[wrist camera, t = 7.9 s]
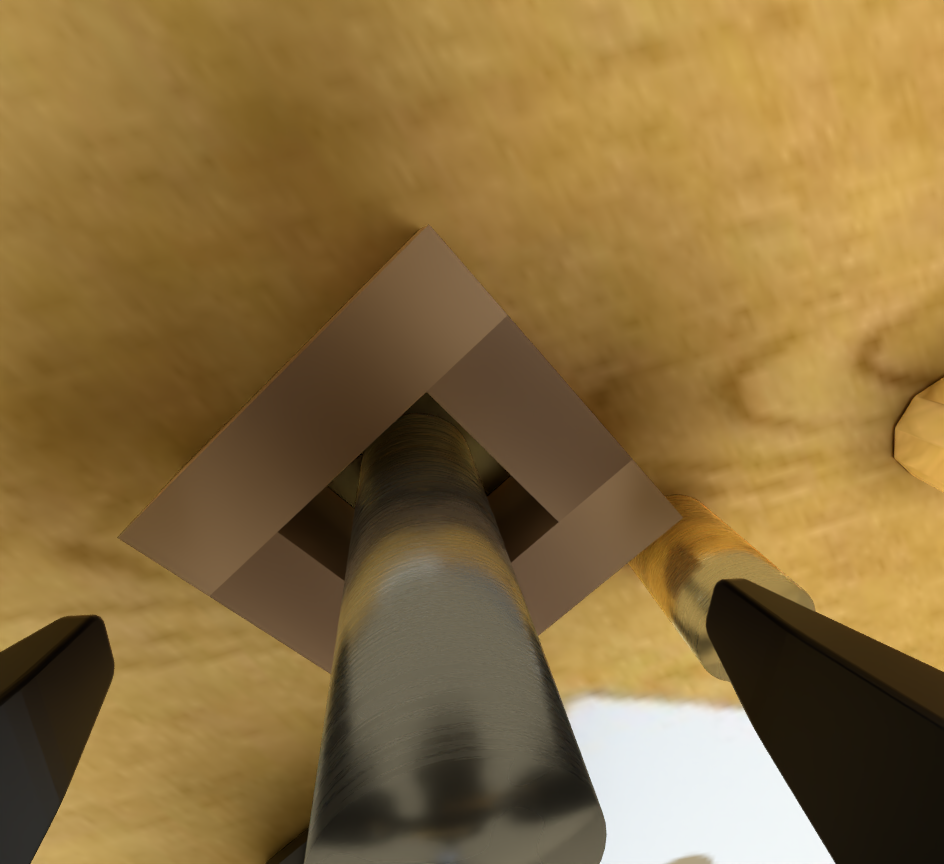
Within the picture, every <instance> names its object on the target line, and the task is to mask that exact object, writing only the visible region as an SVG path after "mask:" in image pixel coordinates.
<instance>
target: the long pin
mask: <svg viewBox="0 0 944 864" xmlns="http://www.w3.org/2000/svg"><path fill="white" fill-rule="evenodd" d="M605 843H606V823H605V819H604V816H603V813H602V810H601V807H600V804H599V801H598V799H597V796H596V793H595V790H594V788H593V785H592V782H591V780H590V777H589V774H588V771H587V769H586V766H585V763H584V760H583V758H582V755H581V752H580V750H579V747H578V744H577V741H576V739H575V736H574V733H573V731H572V728H571V725H570V722H569V720H568V717H567V714H566V711H565V709H564V706H563V703H562V701H561V698H560V695H559V692H558V690H557V687H556V684H555V681H554V679H553V676H552V673H551V671H550V668H549V665H548V662H547V660H546V657H545V654H544V651H543V649H542V646H541V643H540V641H539V638H538V635H537V632H536V630H535V627H534V624H533V621H532V619H531V616H530V613H529V611H528V608H527V605H526V602H525V600H524V597H523V594H522V591H521V589H520V586H519V583H518V581H517V578H516V575H515V572H514V570H513V567H512V564H511V561H510V559H509V556H508V553H507V551H506V548H505V545H504V542H503V540H502V537H501V534H500V531H499V529H498V526H497V523H496V521H495V518H494V515H493V512H492V510H491V507H490V504H489V501H488V499H487V496H486V493H485V491H484V488H483V485H482V482H481V480H480V477H479V474H478V472H477V469H476V466H475V463H474V461H473V458H472V455H471V452H470V450H469V447H468V444H467V442H466V440H465V439H464V437H463V436H462V434H461V433H460V432H459V431H458V430H457V428H455V427H454V426H453V425H452V424H450V423H449V422H447V421H446V420H444V419H441V418H439V417H436V416H433V415H428V414H419V413H417V414H407V415H402V416H400V417H399V418H398V419H397V420H396V421H395V422H394V423H393V424H392V425H391V426H389V427H388V428H387V429H386V430H385V431H384V432H383V433H382V434H381V435H380V436H379V437H378V438H377V439H376V440H375V441H374V442H373V443H371V444H370V445H369V446H368V447H367V448H366V449H365V450H364V452H363V456H362V462H361V469H360V476H359V483H358V490H357V497H356V504H355V511H354V518H353V525H352V532H351V539H350V546H349V553H348V560H347V567H346V574H345V581H344V588H343V595H342V602H341V609H340V616H339V623H338V630H337V637H336V644H335V651H334V658H333V665H332V672H331V678H330V685H329V692H328V699H327V706H326V713H325V720H324V727H323V734H322V741H321V748H320V755H319V762H318V769H317V776H316V783H315V790H314V797H313V804H312V811H311V818H310V825H309V832H308V839H307V846H306V853H305V860H304V864H599V863H600V861H601V859H602V856H603V852H604V849H605Z"/></svg>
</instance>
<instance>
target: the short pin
mask: <svg viewBox="0 0 944 864" xmlns="http://www.w3.org/2000/svg"><path fill="white" fill-rule="evenodd" d="M665 497H666V499H667V500H668V501H669V502H670V503H671V504H672V506H673V507H674V508H675V509H676V510H677V511H678V512H679V514H680V515H681V516H682V517H683V518H682V519H681V520H680V521H678V522H677V523H676V524H675V525H674V526H672V527H671V528H670V529H669V530H667V531H666V532H665V533H664V534H663V535H661V536H660V537H659V538H658V539H656V540H655V541H654V542H653V543H651V544H650V545H649V546H648V547H647V548H645V549H644V550H643V551H642V552H640V553H639V554H638V555H637V556H636V557H634V558H633V559H632V560H631V561H629V562H628V564H629V565H630V567H631V568H632V569H633V571H634V572H635V573H636V575H637V576H638V577H639V579H640V580H641V582H642V583H643V584H644V586H645V587H646V588H647V590H648V591H649V593H650V594H651V595H652V597H653V598H654V599H655V601H656V602H657V604H658V605H659V606H660V608H661V609H662V610H663V612H664V613H665V615H666V616H667V617H668V619H669V620H670V621H671V623H672V624H673V625H674V627H675V628H676V630H677V631H678V632H679V634H680V635H681V636H682V638H683V639H684V641H685V642H686V643H687V645H688V646H689V647H690V649H691V650H692V652H693V653H694V654H695V656H696V657H697V658H698V660H699V661H700V663H701V664H702V665H703V667H704V668H705V669H706V670H707V671H708V672H709V673H710V674H711V675H713V676H714V677H716V678H718V679H721V680H724V681H729V682H730V680H729V678H728V676H727V674H726V672H725V670H724V668H723V666H722V663H721V661H720V659H719V657H718V655H717V653H716V651H715V649H714V647H713V645H712V643H711V641H710V639H709V637H708V634H707V631H706V617H707V613H708V609H709V605H710V601H711V597H712V593H713V590H714V586H715V584H716V583H717V582H718V581H719V580H722V579H734V578H743V579H747V580H749V581H751V582H754V583H756V584H758V585H760V586H762V587H764V588H766V589H768V590H771V591H773V592H775V593H777V594H779V595H781V596H783V597H785V598H787V599H790V600H792V601H794V602H796V603H798V604H800V605H802V606H804V607H807V608H809V609H811V610H813V611H815V606H814V603H813V601H812V599H811V597H810V596H809V595H808V594H807V592H806V591H804V590H803V589H802V588H801V587H800V586H799V585H797V584H796V583H795V582H794V581H793V580H792V579H790V578H789V577H788V576H787V575H786V574H784V573H783V572H782V571H781V570H780V569H779V568H777V567H776V566H775V565H774V564H773V563H772V562H770V561H769V560H768V559H767V558H766V557H764V556H763V555H762V554H761V553H760V552H759V551H757V550H756V549H755V548H754V547H753V546H751V545H750V544H749V543H748V542H747V541H746V540H744V539H743V538H742V537H741V536H740V535H739V534H737V533H736V532H735V531H734V530H733V529H731V528H730V527H729V526H728V525H727V524H726V523H724V522H723V521H722V520H721V519H720V518H719V517H717V516H716V515H715V514H714V513H713V512H711V511H710V510H709V509H708V508H707V507H706V506H704V505H703V504H702V503H701V502H699V501H698V500H696V499H694V498H692V497H689V496H684V495H670V496H665Z"/></svg>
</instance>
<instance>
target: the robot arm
mask: <svg viewBox="0 0 944 864" xmlns="http://www.w3.org/2000/svg"><path fill="white" fill-rule="evenodd" d="M706 631H707V634H708V637H709V639H710V641H711V643H712V645H713V647H714V649H715V651H716V653H717V655H718V657H719V659H720V661H721V663H722V666H723V668H724V670H725V672H726V674H727V676H728V678H729V680H730V682H731V684H732V686H733V688H734V690H735V692H736V694H737V696H738V698H739V700H740V702H741V704H742V706H743V708H744V710H745V712H746V714H747V716H748V718H749V720H750V722H751V724H752V725H753V727H754V729H755V731H756V733H757V735H758V736H759V738H760V740H761V741H762V743H763V745H764V747H765V748H766V750H767V752H768V753H769V755H770V756H771V758H772V760H773V761H774V763H775V765H776V766H777V768H778V770H779V771H780V773H781V775H782V776H783V778H784V780H785V781H786V783H787V784H788V786H789V788H790V789H791V791H792V793H793V794H794V796H795V798H796V799H797V801H798V803H799V804H800V806H801V808H802V809H803V811H804V812H805V814H806V816H807V817H808V819H809V821H810V822H811V824H812V826H813V827H814V829H815V831H816V832H817V834H818V836H819V837H820V839H821V840H822V842H823V844H824V845H825V847H826V849H827V850H828V852H829V854H830V855H831V857H832V859H833V860H834V862H835V864H944V672H942V671H940V670H938V669H936V668H934V667H932V666H930V665H928V664H925V663H923V662H921V661H919V660H917V659H915V658H913V657H911V656H909V655H906V654H904V653H902V652H900V651H898V650H896V649H894V648H892V647H889V646H887V645H885V644H883V643H881V642H879V641H877V640H875V639H872V638H870V637H868V636H866V635H864V634H862V633H860V632H858V631H855V630H853V629H851V628H849V627H847V626H845V625H843V624H841V623H838V622H836V621H834V620H832V619H830V618H828V617H826V616H824V615H821V614H819V613H817V612H815V611H813V610H811V609H809V608H807V607H804V606H802V605H800V604H798V603H796V602H794V601H792V600H790V599H787V598H785V597H783V596H781V595H779V594H777V593H775V592H773V591H771V590H768V589H766V588H764V587H762V586H760V585H758V584H756V583H754V582H751V581H749V580H747V579H743V578H734V579H722V580H719V581H718V582H717V583H716V584H715V586H714V590H713V593H712V597H711V601H710V605H709V609H708V613H707V617H706ZM113 675H114V658H113V654H112V650H111V647H110V643H109V639H108V635H107V631H106V627H105V624H104V621H103V620H102V618H101V617H99V616H97V615H76V616H66V617H62V618H60V619H58V620H56V621H54V622H52V623H51V624H49V625H47V626H45V627H44V628H42V629H40V630H38V631H37V632H35V633H33V634H31V635H30V636H28V637H26V638H24V639H23V640H21V641H19V642H17V643H16V644H14V645H12V646H10V647H9V648H7V649H5V650H3V651H2V652H0V864H30V863H31V861H32V860H33V858H34V856H35V854H36V852H37V850H38V848H39V846H40V844H41V842H42V840H43V838H44V837H45V835H46V833H47V831H48V829H49V827H50V825H51V823H52V821H53V819H54V817H55V815H56V813H57V811H58V809H59V807H60V805H61V803H62V800H63V798H64V796H65V794H66V791H67V789H68V787H69V784H70V782H71V780H72V777H73V775H74V772H75V770H76V767H77V765H78V763H79V760H80V758H81V755H82V753H83V750H84V748H85V745H86V743H87V741H88V738H89V736H90V733H91V731H92V728H93V726H94V723H95V721H96V719H97V716H98V714H99V711H100V709H101V706H102V704H103V701H104V699H105V697H106V694H107V692H108V689H109V687H110V684H111V682H112V679H113ZM308 832H309V828H308V829H307V830H306V831H304V832H303V833H302V834H301V835H299V836H298V837H297V838H296V839H294V840H293V841H292V842H291V843H290V844H288V845H287V846H286V847H285V848H283V849H282V850H281V851H280V852H278V853H277V854H276V855H275V856H274V857H272V858H271V859H270V860H269V861H267V862H266V863H265V864H304V860H305V853H306V846H307V839H308Z"/></svg>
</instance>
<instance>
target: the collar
mask: <svg viewBox="0 0 944 864" xmlns="http://www.w3.org/2000/svg"><path fill="white" fill-rule="evenodd" d="M426 392H427V393H428V394H429V395H430V396H431V397H432V398H433V399H434V400H435V401H436V402H437V403H438V404H439V405H440V406H441V407H442V408H443V409H444V410H445V411H446V412H447V413H448V414H450V415H451V416H452V417H453V418H454V419H455V420H456V421H457V422H458V423H459V424H460V425H461V426H462V427H463V428H464V429H465V430H466V431H467V432H468V433H469V434H470V435H471V436H472V437H473V438H474V439H475V440H476V441H477V442H478V443H479V444H480V445H481V446H482V447H483V448H484V449H485V450H486V451H487V452H488V453H489V454H490V455H491V456H492V457H493V458H494V459H495V460H496V461H497V462H498V463H499V464H500V465H501V466H502V467H503V468H504V469H505V470H506V471H507V472H508V473H509V474H511V476H510V477H509V478H508V479H507V480H506V481H505V482H503V483H502V484H501V485H500V486H499V487H498V488H497V489H495V490H494V491H493V492H492V493H491V494H490V495H489V496H488V497H487V499H488V501H489V504H490V507H491V510H492V512H493V515H494V518H495V521H496V523H497V526H498V529H499V531H500V534H501V537H502V540H503V542H504V545H505V548H506V551H507V553H508V556H509V559H510V561H511V564H512V567H513V570H514V572H515V575H516V578H517V581H518V583H519V586H520V589H521V591H522V594H523V597H524V600H525V602H526V605H527V608H528V611H529V613H530V616H531V619H532V621H533V624H534V627H535V630H536V632H537V635H538V636H539V635H540V634H541V633H542V632H543V631H545V630H546V629H547V628H548V627H550V626H551V625H552V624H553V623H555V622H556V621H557V620H558V619H559V618H561V617H562V616H563V615H564V614H566V613H567V612H568V611H569V610H570V609H572V608H573V607H574V606H575V605H577V604H578V603H579V602H580V601H582V600H583V599H584V598H585V597H586V596H588V595H589V594H590V593H591V592H593V591H594V590H595V589H596V588H597V587H599V586H600V585H601V584H602V583H604V582H605V581H606V580H607V579H609V578H610V577H611V576H612V575H613V574H615V573H616V572H617V571H618V570H620V569H621V568H622V567H623V566H624V565H626V564H627V563H628V562H629V561H631V560H632V559H633V558H634V557H636V556H637V555H638V554H639V553H640V552H642V551H643V550H644V549H645V548H647V547H648V546H649V545H650V544H651V543H653V542H654V541H655V540H656V539H658V538H659V537H660V536H661V535H663V534H664V533H665V532H666V531H667V530H669V529H670V528H671V527H672V526H674V525H675V524H676V523H677V522H678V521H680V520H681V519H682V518H683V517H682V516H681V515H680V514H679V512H678V511H677V510H676V509H675V508H674V507H673V506H672V504H671V503H670V502H669V501H668V500H667V499H666V497H665V496H664V495H663V494H662V493H661V492H660V490H659V489H658V488H657V487H656V486H655V485H654V484H653V482H652V481H651V480H650V479H649V478H648V477H647V475H646V474H645V473H644V472H643V471H642V470H641V469H640V467H639V466H638V465H637V464H636V463H635V462H634V460H633V459H632V458H631V457H630V456H629V455H628V454H627V452H626V451H625V450H624V449H623V448H622V447H621V445H620V444H619V443H618V442H617V441H616V440H615V439H614V437H613V436H612V435H611V434H610V433H609V432H608V430H607V429H606V428H605V427H604V426H603V425H602V424H601V422H600V421H599V420H598V419H597V418H596V417H595V415H594V414H593V413H592V412H591V411H590V410H589V408H588V407H587V406H586V405H585V404H584V403H583V402H582V400H581V399H580V398H579V397H578V396H577V395H576V393H575V392H574V391H573V390H572V389H571V388H570V387H569V385H568V384H567V383H566V382H565V381H564V380H563V378H562V377H561V376H560V375H559V374H558V373H557V372H556V370H555V369H554V368H553V367H552V366H551V365H550V363H549V362H548V361H547V360H546V359H545V358H544V357H543V355H542V354H541V353H540V352H539V351H538V350H537V348H536V347H535V346H534V345H533V344H532V343H531V342H530V340H529V339H528V338H527V337H526V336H525V335H524V333H523V332H522V331H521V330H520V329H519V328H518V326H517V325H516V324H515V323H514V322H513V321H512V320H511V318H510V317H509V316H508V315H507V314H506V313H505V311H504V310H503V309H502V308H501V307H500V306H499V305H498V303H497V302H496V301H495V300H494V299H493V298H492V296H491V295H490V294H489V293H488V292H487V291H486V290H485V288H484V287H483V286H482V285H481V284H480V283H479V281H478V280H477V279H476V278H475V277H474V276H473V275H472V273H471V272H470V271H469V270H468V269H467V268H466V266H465V265H464V264H463V263H462V262H461V261H460V260H459V258H458V257H457V256H456V255H455V254H454V253H453V251H452V250H451V249H450V248H449V247H448V246H447V244H446V243H445V242H444V241H443V240H442V239H441V238H440V236H439V235H438V234H437V233H436V232H435V231H434V229H433V228H432V227H431V226H430V225H427V226H425V227H423V228H421V229H419V230H418V231H417V232H416V233H415V234H414V235H413V236H412V237H411V238H410V239H409V240H408V241H407V242H406V243H405V244H404V245H403V247H402V248H401V249H400V250H399V251H398V252H397V253H396V254H395V255H394V256H393V257H392V258H391V259H390V260H389V261H388V262H387V263H386V264H385V265H384V266H383V267H382V268H381V269H380V270H379V271H378V272H377V273H376V274H375V275H374V276H373V277H372V278H371V279H370V280H369V281H368V282H367V283H366V284H365V285H364V286H363V287H362V288H361V289H360V290H359V291H358V292H357V293H356V294H355V295H354V296H353V297H352V298H351V299H350V300H349V301H348V302H347V303H346V304H345V305H344V306H343V307H342V308H341V309H340V310H339V311H338V312H337V313H336V314H335V315H334V316H333V317H332V318H331V319H330V320H329V321H328V322H327V323H326V324H325V325H324V326H323V327H322V328H321V329H320V330H319V331H318V332H317V333H316V334H315V335H314V336H313V337H312V338H311V339H310V340H309V341H308V342H307V343H306V344H305V345H304V346H303V347H302V348H301V349H300V350H299V351H298V352H297V353H296V354H295V355H294V356H293V357H292V358H291V359H290V360H289V361H288V362H287V363H286V364H285V365H284V366H283V367H282V368H281V369H280V370H279V371H278V372H277V373H276V374H275V375H274V376H273V377H272V378H271V379H270V380H269V381H268V382H267V383H266V384H265V385H264V386H263V387H262V388H261V389H260V390H259V391H258V392H257V393H256V394H255V395H254V396H253V397H252V398H251V399H250V400H249V401H248V402H247V403H246V404H245V405H244V407H243V408H242V409H241V410H240V411H239V412H238V413H237V414H236V415H235V416H234V417H233V418H232V419H231V420H230V421H229V422H228V423H227V424H226V425H225V426H224V427H223V428H222V429H221V430H220V431H219V432H218V433H217V434H216V435H215V436H214V437H213V438H212V439H211V440H210V441H209V442H208V443H207V444H206V445H205V446H204V447H203V448H202V449H201V450H200V451H199V452H198V453H197V454H196V455H195V456H194V457H193V458H192V459H191V460H190V461H189V462H188V463H187V464H186V465H185V466H184V467H183V468H182V469H181V470H180V471H179V472H178V473H177V474H176V475H175V476H174V477H173V478H172V480H171V481H170V482H169V483H168V484H167V485H166V486H165V487H164V488H163V489H162V490H161V491H160V492H159V493H158V495H157V496H156V497H155V498H154V499H153V500H152V501H151V502H150V503H149V504H148V505H147V506H146V507H145V508H144V510H143V511H142V512H141V513H140V514H139V515H138V516H137V517H136V518H135V519H134V520H133V521H132V522H131V523H130V525H129V526H128V527H127V528H126V529H125V530H124V531H123V532H122V533H121V534H120V535H119V536H118V537H117V538H119V539H120V540H122V541H123V542H125V543H127V544H128V545H130V546H131V547H133V548H134V549H136V550H138V551H139V552H141V553H142V554H144V555H145V556H147V557H148V558H150V559H152V560H153V561H155V562H156V563H158V564H159V565H161V566H163V567H164V568H166V569H167V570H169V571H170V572H172V573H174V574H175V575H177V576H178V577H180V578H181V579H183V580H184V581H186V582H188V583H189V584H191V585H192V586H194V587H195V588H197V589H199V590H200V591H202V592H203V593H205V594H206V595H208V596H210V597H211V598H213V599H214V600H216V601H217V602H219V603H220V604H222V605H224V606H225V607H227V608H228V609H230V610H231V611H233V612H235V613H236V614H238V615H239V616H241V617H242V618H244V619H246V620H247V621H249V622H250V623H252V624H253V625H255V626H256V627H258V628H260V629H261V630H263V631H264V632H266V633H267V634H269V635H271V636H272V637H274V638H275V639H277V640H278V641H280V642H282V643H283V644H285V645H286V646H288V647H289V648H291V649H293V650H294V651H296V652H297V653H299V654H300V655H302V656H303V657H305V658H307V659H308V660H310V661H311V662H313V663H314V664H316V665H318V666H319V667H321V668H322V669H324V670H325V671H327V672H329V673H330V674H331V672H332V665H333V658H334V651H335V644H336V637H337V630H338V623H339V616H340V609H341V602H342V595H343V588H344V581H345V574H346V567H347V560H348V553H349V546H350V539H351V532H352V525H353V518H354V511H355V509H354V508H353V507H351V506H350V505H349V504H348V503H346V502H345V501H344V500H343V499H341V498H340V497H339V496H338V495H337V494H335V493H334V492H333V491H332V490H330V489H329V488H328V487H327V485H328V484H329V483H330V482H331V481H332V480H333V479H334V478H335V477H336V476H337V475H339V474H340V473H341V472H342V471H343V470H344V469H345V468H346V467H347V466H348V465H349V464H350V463H351V462H352V461H353V460H354V459H356V458H357V457H358V456H359V455H360V454H361V453H362V452H363V451H364V450H365V449H366V448H367V447H368V446H369V445H370V444H371V443H373V442H374V441H375V440H376V439H377V438H378V437H379V436H380V435H381V434H382V433H383V432H384V431H385V430H386V429H387V428H388V427H389V426H391V425H392V424H393V423H394V422H395V421H396V420H397V419H398V418H399V417H400V416H401V415H402V414H403V413H404V412H405V411H406V410H408V409H409V408H410V407H411V406H412V405H413V404H414V403H415V402H416V401H417V400H418V399H419V398H420V397H421V396H422V395H423V394H425V393H426Z"/></svg>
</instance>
